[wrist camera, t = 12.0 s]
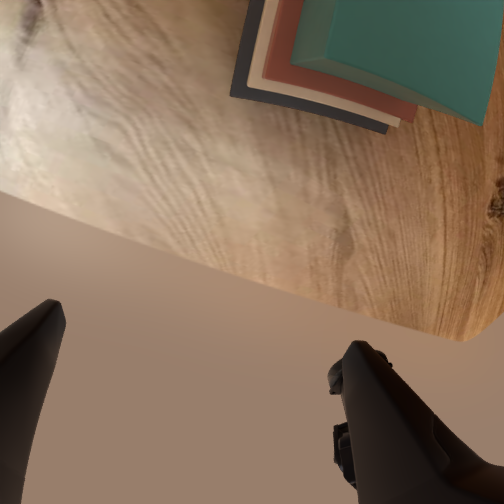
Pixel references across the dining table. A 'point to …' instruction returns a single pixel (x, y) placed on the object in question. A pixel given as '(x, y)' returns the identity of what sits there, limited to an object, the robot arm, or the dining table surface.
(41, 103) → the dining table surface
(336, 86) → the stack
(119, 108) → the dining table surface
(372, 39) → the toy cube
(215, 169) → the dining table surface
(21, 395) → the robot arm
